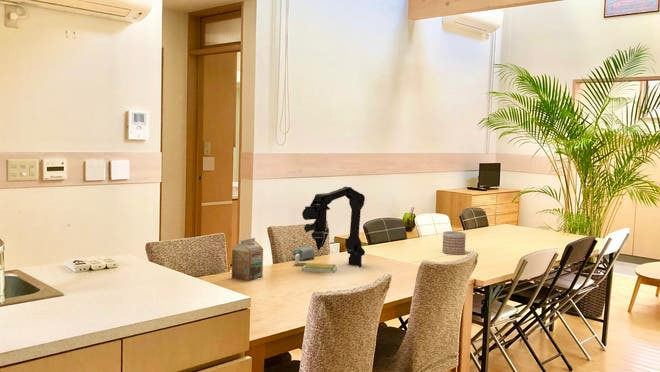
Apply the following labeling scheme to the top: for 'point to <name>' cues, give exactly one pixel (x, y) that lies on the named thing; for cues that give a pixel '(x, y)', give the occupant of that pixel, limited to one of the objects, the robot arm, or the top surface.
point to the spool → (304, 252)
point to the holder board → (304, 264)
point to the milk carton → (247, 260)
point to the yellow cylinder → (319, 266)
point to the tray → (319, 269)
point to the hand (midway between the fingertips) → (320, 248)
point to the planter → (454, 243)
